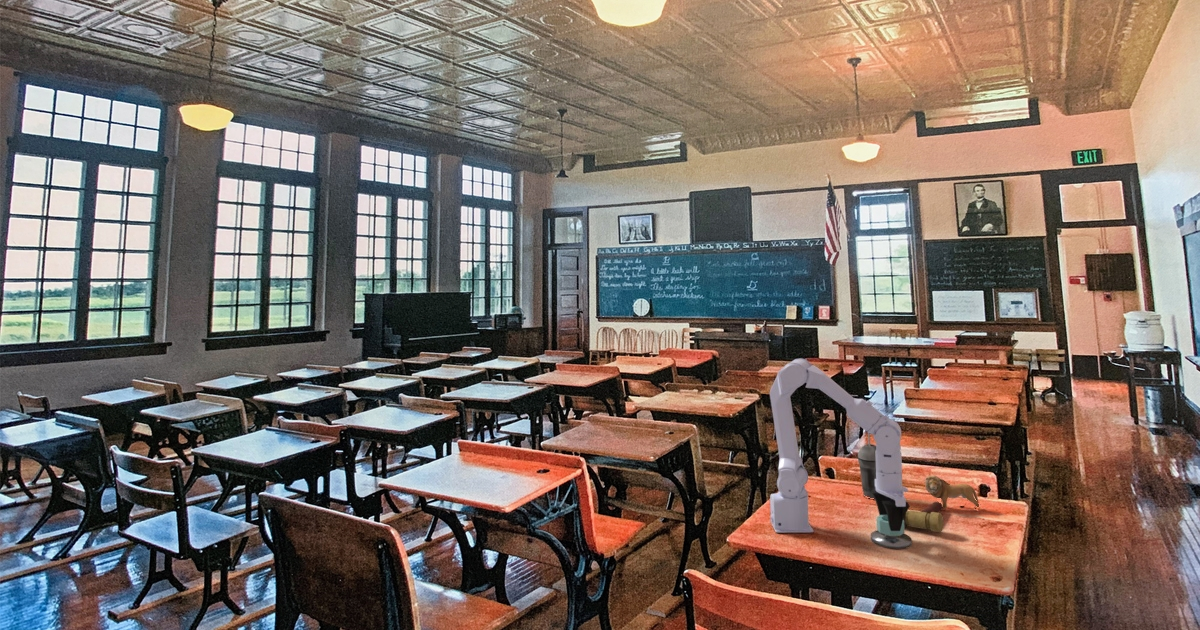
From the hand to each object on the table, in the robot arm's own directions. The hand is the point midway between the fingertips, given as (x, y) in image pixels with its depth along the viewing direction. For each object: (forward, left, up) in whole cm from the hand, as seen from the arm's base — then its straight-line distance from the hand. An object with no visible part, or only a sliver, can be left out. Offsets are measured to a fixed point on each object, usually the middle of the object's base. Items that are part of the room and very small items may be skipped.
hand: (890, 525), depth 146 cm
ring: (0, 0, -1) cm, 1 cm away
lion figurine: (+24, +20, -4) cm, 31 cm away
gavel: (+15, +13, -4) cm, 20 cm away
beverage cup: (+6, +31, -4) cm, 32 cm away
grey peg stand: (0, 0, -4) cm, 4 cm away
